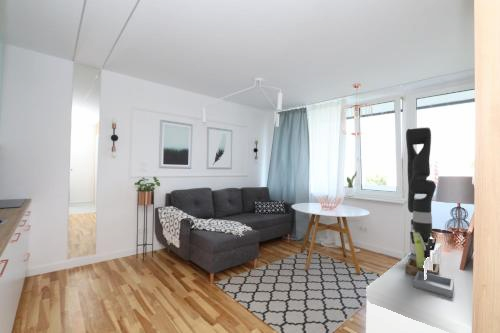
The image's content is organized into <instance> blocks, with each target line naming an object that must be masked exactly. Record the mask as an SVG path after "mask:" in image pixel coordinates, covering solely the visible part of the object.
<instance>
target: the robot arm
mask: <svg viewBox="0 0 500 333" xmlns="http://www.w3.org/2000/svg"><path fill="white" fill-rule="evenodd" d="M405 139H406V140H405V141H406V151H407V184H408V185H407V187H408V188H407V189H408V190H407V209H408V211H409V213H412V219H411V220H410V231H409V252H410V254H412V255H414V256H416V251H415V242H414V236H413V232H416V233H420V239H421V242H422V245H423V246H424V258H427V257H430V258H431V251H434V250H435V248H436V244H437V243H436V242H437V238H433V236H431V235H430V233H432V232H433V217H432V216H433V215H432V200H433V198H434V194H435V191H436V189H437V185H436V183H435V181H433V180H432V179H428V177H430V175H431V166H430V157H431V156H430V155H431V146H432V131H431V128H430V127H428V126H420V127H411V128H407V129H406V132H405ZM414 145H415V146H417V145H423V146H422V148H421V149H420V150H419V152H418V153H417V151H416V149H415V147H414ZM416 195H425V197H415V196H416ZM425 242H428V243H425ZM426 245H427V246H428V247H426Z"/></svg>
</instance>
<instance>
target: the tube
mask: <svg viewBox="0 0 500 333" xmlns="http://www.w3.org/2000/svg"><path fill="white" fill-rule="evenodd" d="M432 234H433V233H432V232H430V235H431V237H433V236H432ZM413 236H414V242H415V251H416V255H415V259H416V263H417V267H419V268H423V265H424V261H425V260H426V258H424V246H423V245H422V242H421V239H420V233H416V232H413ZM425 243H428V242H425ZM426 247H428V246H427V245H426Z"/></svg>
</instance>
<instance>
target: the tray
mask: <svg viewBox="0 0 500 333" xmlns="http://www.w3.org/2000/svg"><path fill="white" fill-rule="evenodd" d="M426 274H427V279H426V280H424V272H421V271H418V272H417V274H416V276H414V278H413V288H414V289H419V290H421V291H426V292H429V293H432V294H436V295H441V296H443V297H448V298H449V299H450V298H451V299H453V296H454V284H455V282H454V278H451V277H446V276H442V275H439V276H438V275H434V274H430V273H426Z"/></svg>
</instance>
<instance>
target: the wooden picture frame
mask: <svg viewBox="0 0 500 333" xmlns="http://www.w3.org/2000/svg"><path fill="white" fill-rule="evenodd" d="M433 263H434V262H433ZM418 271H421V272H424V268H419V267H417V263H416V258H412V257H409V259H408V261H406V264H405V274H406V275H410V276H411V275H412V276H414V277H415V276H416V274H417V272H418ZM427 273H430V274H434V275H438V276H440V264H439V263H436V262H435V263H434V264H433V271H432V270H427Z"/></svg>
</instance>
